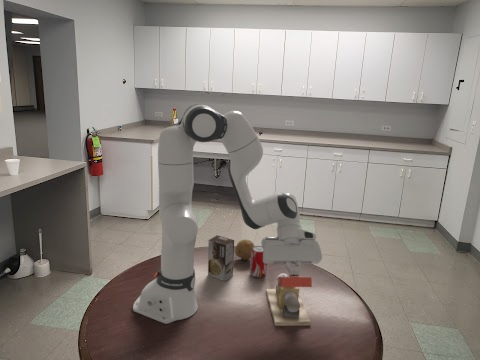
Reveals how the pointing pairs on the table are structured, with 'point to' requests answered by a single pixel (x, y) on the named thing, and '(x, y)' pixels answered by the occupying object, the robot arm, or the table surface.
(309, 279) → the lever
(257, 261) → the soda can
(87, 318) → the table surface
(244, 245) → the natural sponge
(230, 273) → the coffee box
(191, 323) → the table surface
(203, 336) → the table surface
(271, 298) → the valve
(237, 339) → the table surface
